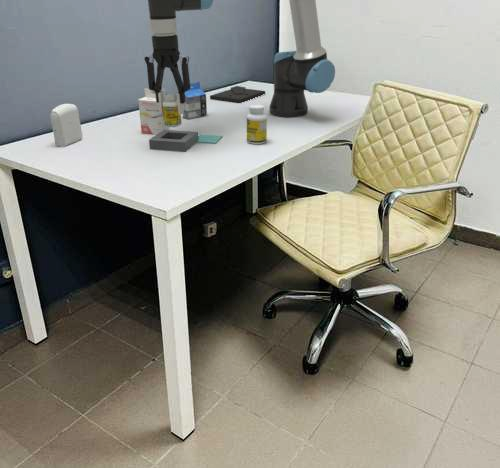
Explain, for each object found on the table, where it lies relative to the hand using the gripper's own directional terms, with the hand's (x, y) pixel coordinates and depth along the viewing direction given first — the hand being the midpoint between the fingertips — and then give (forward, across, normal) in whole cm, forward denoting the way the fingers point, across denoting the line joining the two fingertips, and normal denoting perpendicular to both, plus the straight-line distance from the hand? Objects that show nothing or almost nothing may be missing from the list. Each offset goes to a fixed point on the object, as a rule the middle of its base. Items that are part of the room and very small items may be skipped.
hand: (172, 113), depth 159 cm
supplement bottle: (+4, 0, 0) cm, 4 cm away
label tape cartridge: (+11, +6, -36) cm, 38 cm away
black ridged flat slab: (+12, -1, -73) cm, 74 cm away
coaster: (+10, -9, -8) cm, 15 cm away
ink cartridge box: (+10, +12, -12) cm, 20 cm away
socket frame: (+10, 0, 0) cm, 10 cm away
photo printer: (+10, +35, +6) cm, 37 cm away
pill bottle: (+11, -25, -8) cm, 29 cm away
